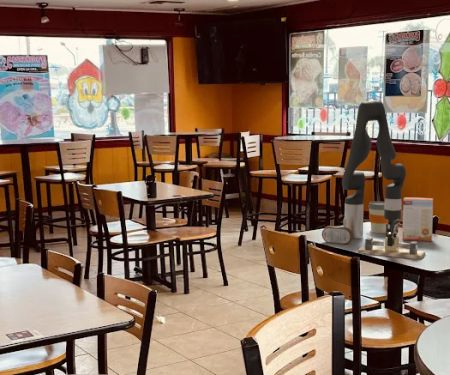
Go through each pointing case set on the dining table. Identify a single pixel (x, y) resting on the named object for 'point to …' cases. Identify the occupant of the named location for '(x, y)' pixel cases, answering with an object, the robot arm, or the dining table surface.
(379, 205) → the reusable coffee cup
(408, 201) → the cracker box
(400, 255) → the shaft rig
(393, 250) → the coupler
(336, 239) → the tin
